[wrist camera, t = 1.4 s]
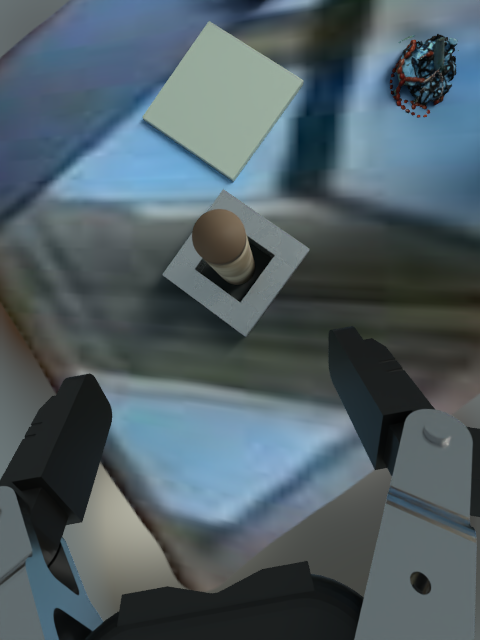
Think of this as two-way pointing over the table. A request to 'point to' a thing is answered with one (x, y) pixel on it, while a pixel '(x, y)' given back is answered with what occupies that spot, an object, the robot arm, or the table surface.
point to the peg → (224, 245)
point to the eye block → (267, 286)
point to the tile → (222, 100)
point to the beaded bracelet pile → (426, 71)
